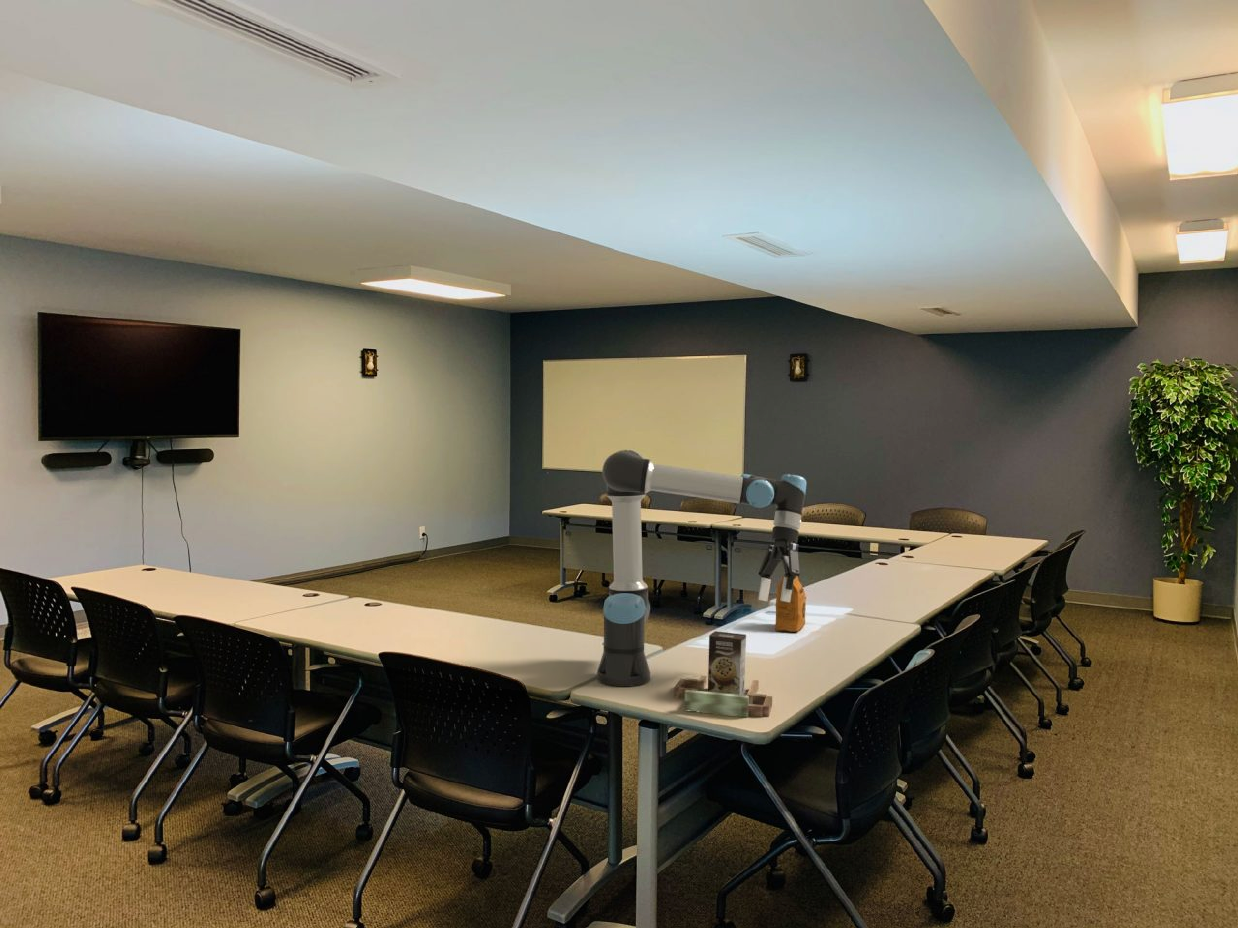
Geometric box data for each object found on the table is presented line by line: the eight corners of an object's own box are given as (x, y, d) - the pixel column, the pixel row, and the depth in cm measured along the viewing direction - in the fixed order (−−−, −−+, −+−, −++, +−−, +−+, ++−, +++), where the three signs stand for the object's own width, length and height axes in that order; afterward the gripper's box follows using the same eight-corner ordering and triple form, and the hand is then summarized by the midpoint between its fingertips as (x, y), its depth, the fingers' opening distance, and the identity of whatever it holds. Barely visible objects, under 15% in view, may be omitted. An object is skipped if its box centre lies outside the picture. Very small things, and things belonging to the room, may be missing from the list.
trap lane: (665, 708, 222) (665, 689, 222) (683, 682, 245) (683, 664, 244) (767, 719, 215) (768, 699, 215) (776, 691, 238) (777, 673, 237)
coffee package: (809, 627, 311) (811, 566, 310) (798, 634, 301) (799, 571, 299) (783, 623, 316) (784, 564, 315) (771, 630, 306) (772, 569, 304)
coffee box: (706, 694, 234) (707, 635, 233) (712, 687, 240) (713, 630, 239) (740, 698, 231) (741, 638, 230) (745, 691, 237) (746, 633, 236)
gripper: (819, 528, 240) (807, 604, 236) (777, 533, 263) (765, 602, 259) (795, 522, 238) (782, 598, 234) (755, 527, 262) (742, 597, 257)
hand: (773, 601), depth 246 cm, fingers open, 13 cm apart
